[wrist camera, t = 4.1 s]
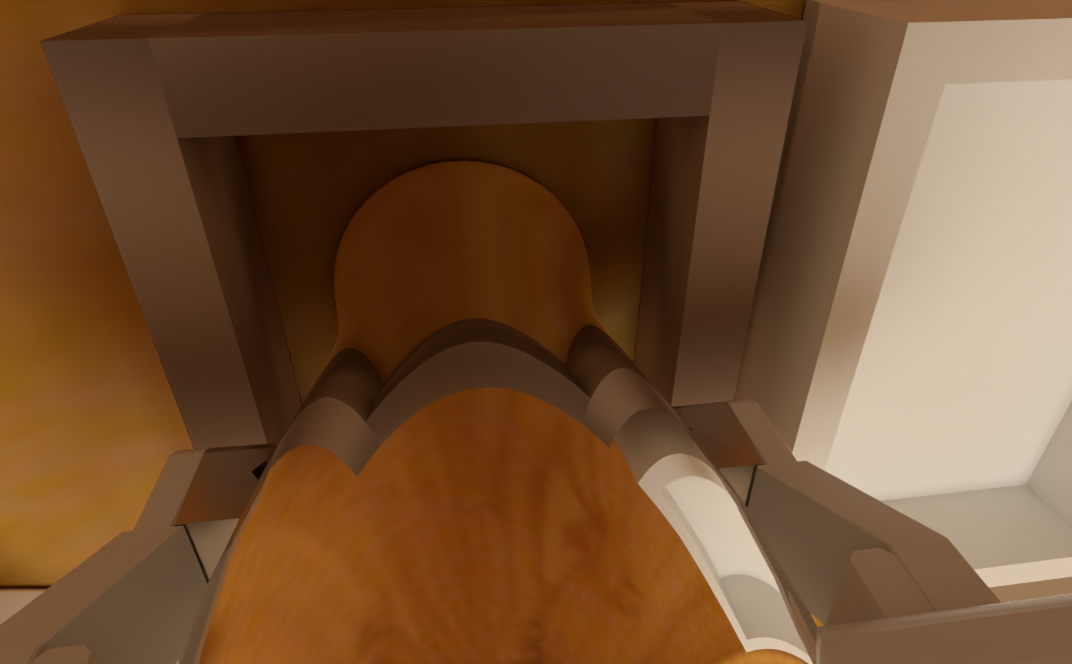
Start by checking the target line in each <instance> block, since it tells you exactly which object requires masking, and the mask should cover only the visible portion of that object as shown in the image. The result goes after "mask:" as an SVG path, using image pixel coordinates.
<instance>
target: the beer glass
mask: <svg viewBox="0 0 1072 664" xmlns="http://www.w3.org/2000/svg"><path fill="white" fill-rule="evenodd" d="M334 293H335V302H336V310H337V317H338V324H339V333H338V338H337V341H336V344H335V347H334V349H333V350H332V352H331V354H330V356H329V358H328V360H327V362H326V364H325V366H324V367H323V369H322V371H321V373H320V374H319V376H318V378H317V380H316V381H315V383H314V385H313V386H312V388H311V390H310V391H309V393H308V395H307V396H306V398H305V400H304V401H303V403H302V405H301V406H300V408H299V410H298V411H297V413H296V415H295V417H294V418H293V420H292V422H291V424H290V425H289V427H288V429H287V431H286V432H285V434H284V436H283V438H282V439H281V441H280V443H279V445H278V446H277V448H276V450H275V452H274V453H273V455H272V457H271V459H270V460H269V462H268V464H267V466H266V467H265V469H264V471H263V473H262V474H261V476H260V478H259V480H258V482H257V484H256V486H255V488H254V490H253V492H252V494H251V496H250V498H249V500H248V502H247V504H246V506H245V508H244V510H243V512H242V514H241V516H240V518H239V520H238V522H237V524H236V526H235V529H234V531H233V533H232V535H231V537H230V539H229V541H228V543H227V545H226V547H225V549H224V551H223V553H222V555H221V557H220V559H219V561H218V563H217V565H216V567H215V569H214V571H213V574H212V576H211V578H210V580H209V582H208V585H207V587H206V590H205V592H204V595H203V598H202V600H201V603H200V606H199V609H198V611H197V614H196V617H195V619H194V622H193V625H192V627H191V630H190V633H189V636H188V638H187V641H186V644H185V646H184V649H183V652H182V654H181V657H180V660H179V662H178V664H835V662H834V660H833V658H832V656H831V654H830V652H829V650H828V648H827V646H826V644H825V642H824V640H823V638H822V636H821V634H820V632H819V630H818V628H817V626H816V624H815V622H814V620H813V618H812V616H811V615H810V613H809V611H808V610H807V608H806V606H805V604H804V603H803V601H802V599H801V598H800V596H799V594H798V592H797V591H796V589H795V587H794V586H793V584H792V582H791V580H790V579H789V577H788V575H787V574H786V572H785V570H784V569H783V567H782V565H781V563H780V562H779V560H778V558H777V557H776V555H775V553H774V551H773V550H772V548H771V546H770V545H769V543H768V541H767V540H766V538H765V536H764V534H763V533H762V531H761V529H760V528H759V526H758V524H757V522H756V521H755V519H754V517H753V516H752V514H751V512H750V511H749V509H748V508H747V507H746V505H745V504H744V502H743V501H742V500H741V498H740V497H739V496H738V494H737V493H736V492H735V490H734V489H733V487H732V486H731V485H730V483H729V482H728V481H727V479H726V478H725V476H724V475H723V474H722V472H721V471H720V470H719V468H718V467H717V465H716V464H715V463H714V461H713V460H712V459H711V457H710V456H709V455H708V453H707V452H706V450H705V449H704V448H703V446H702V445H701V444H700V442H699V441H698V439H697V438H696V437H695V435H694V434H693V433H692V431H691V430H690V429H689V428H688V426H687V425H686V424H685V423H684V422H683V420H682V419H681V418H680V417H679V416H678V414H677V413H676V412H675V411H674V410H673V408H672V407H671V406H670V405H669V404H668V402H667V401H666V400H665V399H664V398H663V396H662V395H661V394H660V393H659V391H658V390H657V389H656V388H655V387H654V385H653V384H652V383H651V382H650V381H649V379H648V378H647V377H646V376H645V375H644V373H643V372H642V371H641V370H640V369H639V368H638V367H637V365H636V364H635V363H634V362H633V361H632V360H631V358H630V357H629V356H628V355H627V354H626V353H625V351H624V350H623V349H622V348H621V347H620V346H619V345H618V343H617V342H616V341H615V340H614V338H613V337H612V336H611V335H610V333H609V332H608V331H607V329H606V328H605V327H604V326H603V324H602V323H601V322H600V320H599V319H598V317H597V315H596V313H595V311H594V308H593V304H592V291H591V275H590V266H589V260H588V254H587V250H586V247H585V244H584V241H583V238H582V236H581V233H580V231H579V229H578V227H577V225H576V223H575V221H574V219H573V218H572V216H571V215H570V213H569V212H568V211H567V209H566V208H565V207H564V206H563V204H562V203H561V202H560V201H559V200H558V199H557V198H556V197H555V196H554V195H553V194H552V193H551V192H549V191H548V190H547V189H546V188H544V187H543V186H542V185H540V184H539V183H537V182H536V181H534V180H533V179H531V178H529V177H527V176H525V175H523V174H521V173H519V172H517V171H515V170H512V169H509V168H506V167H503V166H500V165H496V164H492V163H486V162H479V161H447V162H440V163H434V164H430V165H426V166H423V167H420V168H417V169H414V170H411V171H409V172H407V173H404V174H402V175H400V176H398V177H397V178H395V179H393V180H391V181H390V182H388V183H387V184H385V185H384V186H382V187H381V188H380V189H379V190H377V191H376V192H375V193H374V194H373V195H372V196H370V197H369V198H368V199H367V200H366V201H365V202H364V203H363V205H362V206H361V207H360V208H359V209H358V210H357V212H356V213H355V214H354V216H353V217H352V219H351V220H350V222H349V224H348V226H347V227H346V229H345V231H344V234H343V236H342V238H341V241H340V244H339V247H338V251H337V255H336V261H335V269H334Z"/></svg>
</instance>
